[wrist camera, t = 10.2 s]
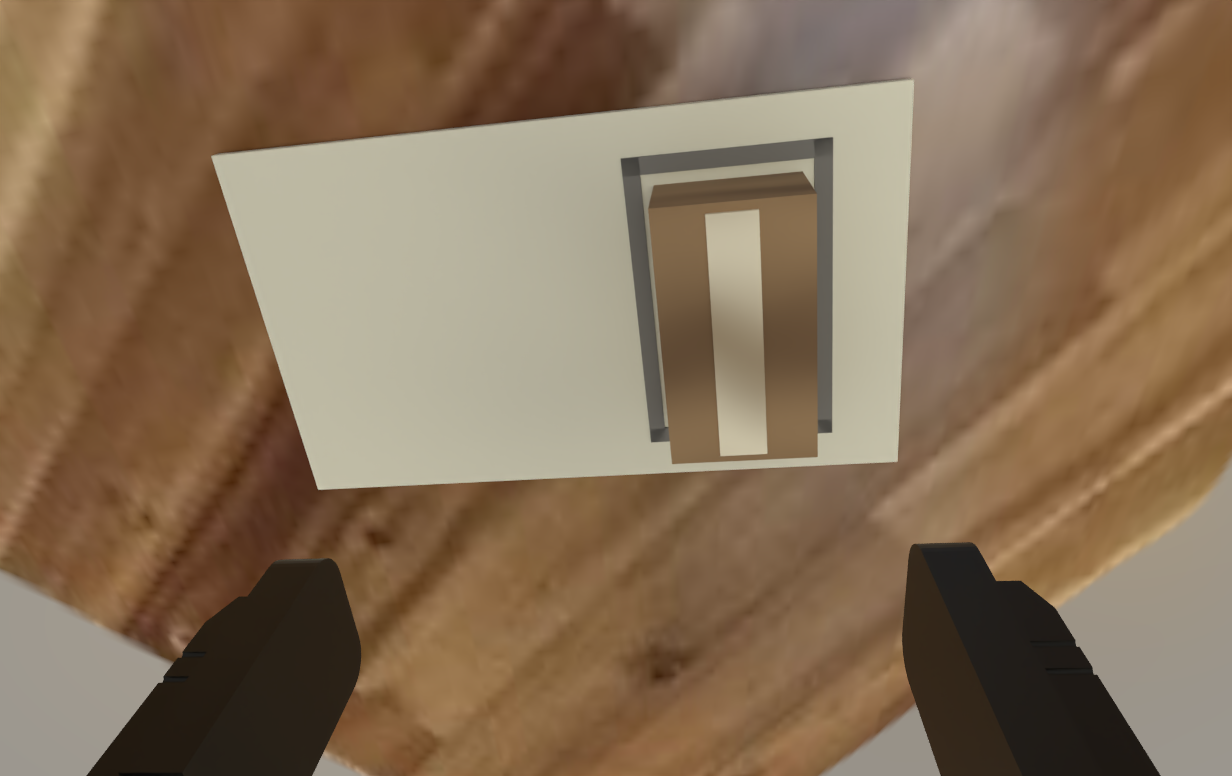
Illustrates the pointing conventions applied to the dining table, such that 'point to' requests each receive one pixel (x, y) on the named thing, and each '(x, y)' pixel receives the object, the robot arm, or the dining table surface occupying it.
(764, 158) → the mat
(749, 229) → the card box
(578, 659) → the dining table surface
